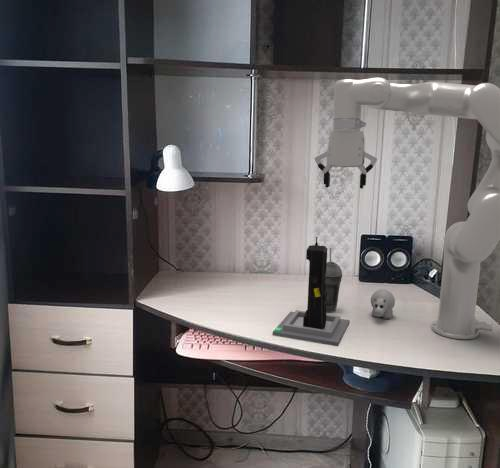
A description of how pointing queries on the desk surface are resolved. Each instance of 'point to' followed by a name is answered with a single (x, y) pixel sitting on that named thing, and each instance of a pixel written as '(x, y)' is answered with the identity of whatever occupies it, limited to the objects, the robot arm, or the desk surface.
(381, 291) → the chubby cartoon animal
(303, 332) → the charging dock
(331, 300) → the beverage cup
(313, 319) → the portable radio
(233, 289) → the desk surface
